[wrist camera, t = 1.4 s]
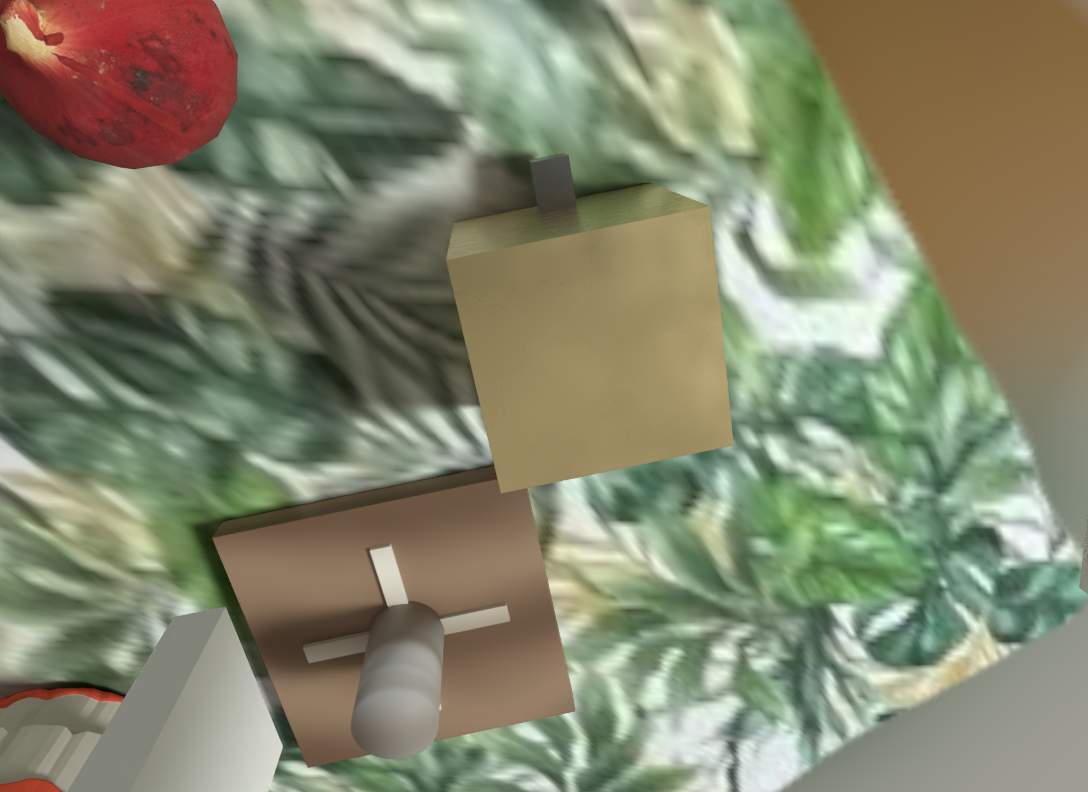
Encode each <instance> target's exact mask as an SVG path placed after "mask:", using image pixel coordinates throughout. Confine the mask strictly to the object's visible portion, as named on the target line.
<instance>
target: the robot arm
mask: <svg viewBox="0 0 1088 792" xmlns="http://www.w3.org/2000/svg"><path fill="white" fill-rule="evenodd" d="M1080 588H1081V589H1082V590H1083V591H1085V592H1086V593H1087V594H1088V518H1087V527H1086V536H1085V544H1084V553H1083V561H1082V570H1081V578H1080ZM282 747H283V746H282V743H281V741H280V738H279V736H278V733H277V731H276V729H275V726H274V724H273V721H272V719H271V716H270V714H269V711H268V709H267V707H266V704H265V702H264V699H263V697H262V694H261V692H260V689H259V687H258V685H257V682H256V680H255V677H254V675H253V672H252V670H251V667H250V665H249V663H248V660H247V658H246V655H245V653H244V650H243V648H242V645H241V643H240V641H239V638H238V636H237V633H236V631H235V628H234V626H233V623H232V621H231V619H230V616H229V614H228V611H227V609H226V607H222V608H217V609H212V610H207V611H202V612H197V613H192V614H187V615H182V616H177V617H174V618H173V619H172V621H171V623H170V624H169V626H168V628H167V629H166V631H165V632H164V634H163V636H162V637H161V639H160V641H159V642H158V644H157V646H156V647H155V649H154V650H153V652H152V654H151V655H150V657H149V659H148V660H147V662H146V664H145V665H144V667H143V668H142V670H141V672H140V673H139V675H138V677H137V678H136V680H135V681H134V683H133V685H132V686H131V688H130V690H129V691H128V693H127V695H126V696H125V698H124V699H123V701H122V703H121V704H120V706H119V708H118V709H117V711H116V713H115V714H114V716H113V717H112V719H111V721H110V722H109V724H108V726H107V727H106V729H105V731H104V732H103V734H102V735H101V737H100V739H99V740H98V742H97V744H96V745H95V747H94V748H93V750H92V752H91V753H90V755H89V757H88V758H87V760H86V762H85V763H84V765H83V766H82V768H81V770H80V771H79V773H78V775H77V776H76V778H75V780H74V781H73V783H72V784H71V786H70V788H69V789H68V791H67V792H269V789H270V786H271V782H272V779H273V776H274V773H275V770H276V766H277V763H278V760H279V757H280V754H281V750H282Z"/></svg>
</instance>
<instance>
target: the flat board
mask: <svg viewBox="0 0 1088 792" xmlns="http://www.w3.org/2000/svg"><path fill="white" fill-rule="evenodd" d="M212 539H213V541H214V544H215V546H216V549H217V551H218V553H219V556H220V558H221V561H222V563H223V565H224V568H225V570H226V573H227V575H228V577H229V580H230V582H231V585H232V587H233V589H234V592H235V594H236V597H237V599H238V601H239V604H240V606H241V609H242V611H243V613H244V616H245V618H246V621H247V623H248V625H249V628H250V630H251V632H252V635H253V637H254V640H255V642H256V644H257V647H258V649H259V652H260V654H261V656H262V659H263V661H264V664H265V666H266V668H267V671H268V673H269V676H270V678H271V680H272V683H273V685H274V688H275V690H276V692H277V695H278V697H279V700H280V702H281V704H282V707H283V709H284V712H285V714H286V716H287V719H288V721H289V724H290V726H291V728H292V731H293V733H294V736H295V738H296V740H297V743H298V745H299V748H300V750H301V752H302V755H303V757H304V760H305V762H306V764H307V767H308V768H309V767H313V766H318V765H323V764H328V763H332V762H337V761H342V760H347V759H351V758H356V757H361V756H366V755H370V754H372V755H374V756H377V757H380V758H385V759H402V758H408V757H411V756H414V755H416V754H418V753H420V752H422V751H424V750H425V749H426V748H427V747H429V746H430V745H431V743H432V742H433V741H437V740H442V739H446V738H451V737H456V736H461V735H465V734H470V733H475V732H479V731H484V730H489V729H494V728H498V727H503V726H508V725H513V724H517V723H522V722H527V721H532V720H536V719H541V718H546V717H551V716H555V715H560V714H565V713H570V712H574V711H575V706H574V699H573V693H572V688H571V684H570V679H569V675H568V670H567V666H566V661H565V657H564V652H563V648H562V643H561V639H560V634H559V630H558V625H557V621H556V616H555V611H554V607H553V602H552V598H551V593H550V589H549V584H548V580H547V575H546V571H545V566H544V562H543V557H542V553H541V548H540V544H539V539H538V535H537V530H536V526H535V521H534V517H533V512H532V507H531V503H530V498H529V494H528V489H527V488H525V489H520V490H515V491H510V492H505V493H501V491H500V487H499V483H498V479H497V474H496V470H495V466H490V467H485V468H480V469H475V470H470V471H465V472H461V473H456V474H451V475H446V476H441V477H436V478H432V479H427V480H422V481H417V482H412V483H407V484H403V485H398V486H393V487H388V488H383V489H378V490H373V491H369V492H364V493H359V494H354V495H349V496H344V497H340V498H335V499H330V500H325V501H320V502H315V503H311V504H306V505H301V506H296V507H291V508H286V509H281V510H277V511H272V512H267V513H262V514H257V515H252V516H248V517H243V518H238V519H233V520H228V521H223V522H222V523H221V525H220V526H219V528H218V530H217V531H216V533H215V534H214V536H213V538H212Z"/></svg>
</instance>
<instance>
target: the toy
mask: <svg viewBox="0 0 1088 792" xmlns="http://www.w3.org/2000/svg"><path fill="white" fill-rule="evenodd" d="M124 698H125V697H122V696H120V695H117V694H114V693H111V692H104V691H100V690H97V689H92V688H57V689H54V690H45V689H34V690H29V691H25V692H20V693H16V694H14V695H12V696H11V697H9V698H3V699H0V792H67V791H68V789H69V788H70V786H71V784H72V783H73V781H74V780H75V778H76V776H77V775H78V773H79V771H80V770H81V768H82V766H83V765H84V763H85V762H86V760H87V758H88V757H89V755H90V753H91V752H92V750H93V748H94V747H95V745H96V744H97V742H98V740H99V739H100V737H101V735H102V734H103V732H104V731H105V729H106V727H107V726H108V724H109V722H110V721H111V719H112V717H113V716H114V714H115V713H116V711H117V709H118V708H119V706H120V704H121V703H122V701H123V699H124Z"/></svg>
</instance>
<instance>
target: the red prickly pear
mask: <svg viewBox="0 0 1088 792" xmlns="http://www.w3.org/2000/svg"><path fill="white" fill-rule="evenodd" d="M237 58H238V55H237V52H236V50H235V48H234V45H233V43H232V40H231V38H230V36H229V33H228V31H227V28H226V26H225V24H224V21H223V19H222V16H221V14H220V12H219V10H218V8H217V6H216V4H215V3H214V1H213V0H0V92H1V94H2V95H3V96H4V97H5V99H6V100H7V101H8V102H9V103H10V104H11V105H12V107H13V108H14V109H15V110H16V111H17V112H18V113H19V114H20V116H21V117H22V118H23V119H24V120H25V121H26V122H27V124H28V125H29V126H30V127H31V128H32V129H33V130H34V131H36V132H38V133H39V134H41V135H43V136H44V137H46V138H48V139H50V140H51V141H53V142H55V143H56V144H58V145H60V146H61V147H63V148H65V149H66V150H68V151H70V152H72V153H74V154H75V155H77V156H79V157H82V158H85V159H89V160H93V161H97V162H101V163H105V164H109V165H113V166H117V167H121V168H129V169H138V168H145V167H152V166H159V165H165V164H172V163H176V162H178V161H179V160H181V159H182V158H184V157H186V156H187V155H189V154H190V153H192V152H194V151H195V150H197V149H198V148H200V147H201V146H203V145H205V144H206V143H208V142H209V141H211V140H213V139H214V138H216V137H217V136H218V135H219V133H220V131H221V129H222V127H223V125H224V123H225V121H226V119H227V118H228V116H229V114H230V112H231V110H232V108H233V106H234V104H235V102H236V100H237Z"/></svg>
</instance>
